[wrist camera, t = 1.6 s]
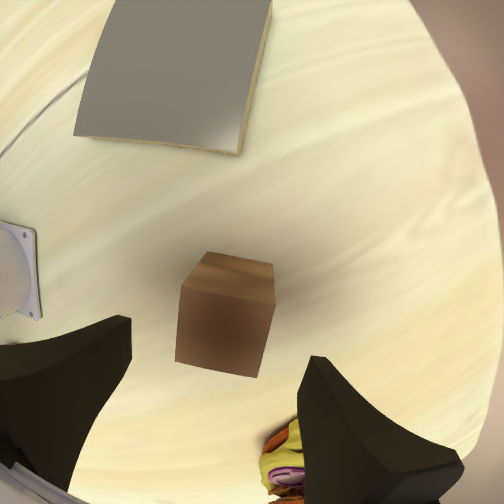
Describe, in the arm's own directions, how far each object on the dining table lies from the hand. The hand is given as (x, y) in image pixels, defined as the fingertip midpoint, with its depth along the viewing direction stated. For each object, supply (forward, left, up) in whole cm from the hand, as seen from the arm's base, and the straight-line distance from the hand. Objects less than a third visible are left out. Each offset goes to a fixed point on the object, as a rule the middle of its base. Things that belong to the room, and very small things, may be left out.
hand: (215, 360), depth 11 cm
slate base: (-6, +13, -8) cm, 17 cm away
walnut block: (0, 0, -8) cm, 8 cm away
